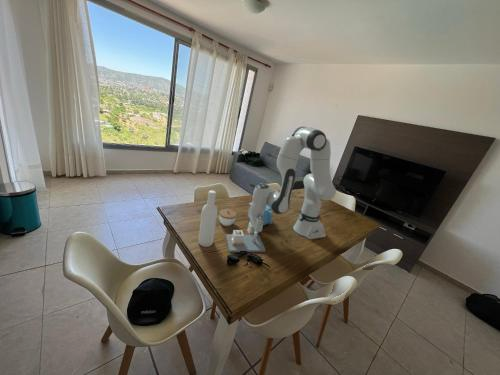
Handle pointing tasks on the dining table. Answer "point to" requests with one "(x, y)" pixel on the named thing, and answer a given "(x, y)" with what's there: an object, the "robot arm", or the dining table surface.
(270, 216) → the decorative pot
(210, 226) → the bottle
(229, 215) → the lidded jar
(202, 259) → the dining table surface
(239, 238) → the seated sleeve
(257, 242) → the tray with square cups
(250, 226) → the sleeve
